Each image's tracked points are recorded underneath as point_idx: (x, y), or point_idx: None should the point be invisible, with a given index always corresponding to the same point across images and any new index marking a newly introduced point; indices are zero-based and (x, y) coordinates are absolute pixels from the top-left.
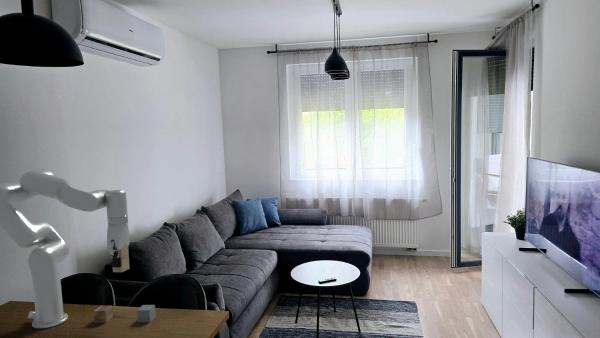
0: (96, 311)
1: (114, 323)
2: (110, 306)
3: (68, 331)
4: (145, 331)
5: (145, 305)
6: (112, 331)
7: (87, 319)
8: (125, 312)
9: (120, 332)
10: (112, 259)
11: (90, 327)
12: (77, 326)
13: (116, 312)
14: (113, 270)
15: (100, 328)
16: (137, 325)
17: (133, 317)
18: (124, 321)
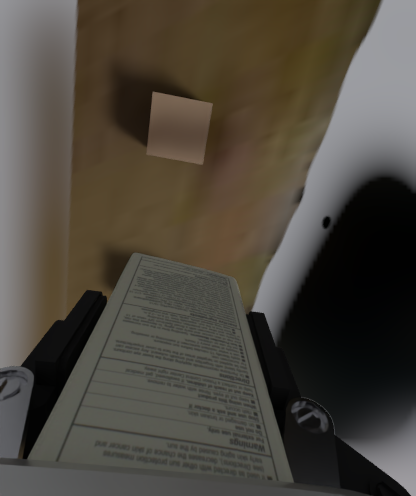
0: (151, 107)
1: (143, 186)
2: (194, 159)
3: (86, 6)
4: (73, 305)
5: None
6: (77, 201)
7: (201, 47)
8: (240, 195)
9: (69, 232)
10: (47, 343)
11: (117, 98)
12: (133, 29)
13: (249, 157)
14: (128, 262)
15: (105, 146)
16: (118, 270)
17: (186, 239)
18: (156, 217)
